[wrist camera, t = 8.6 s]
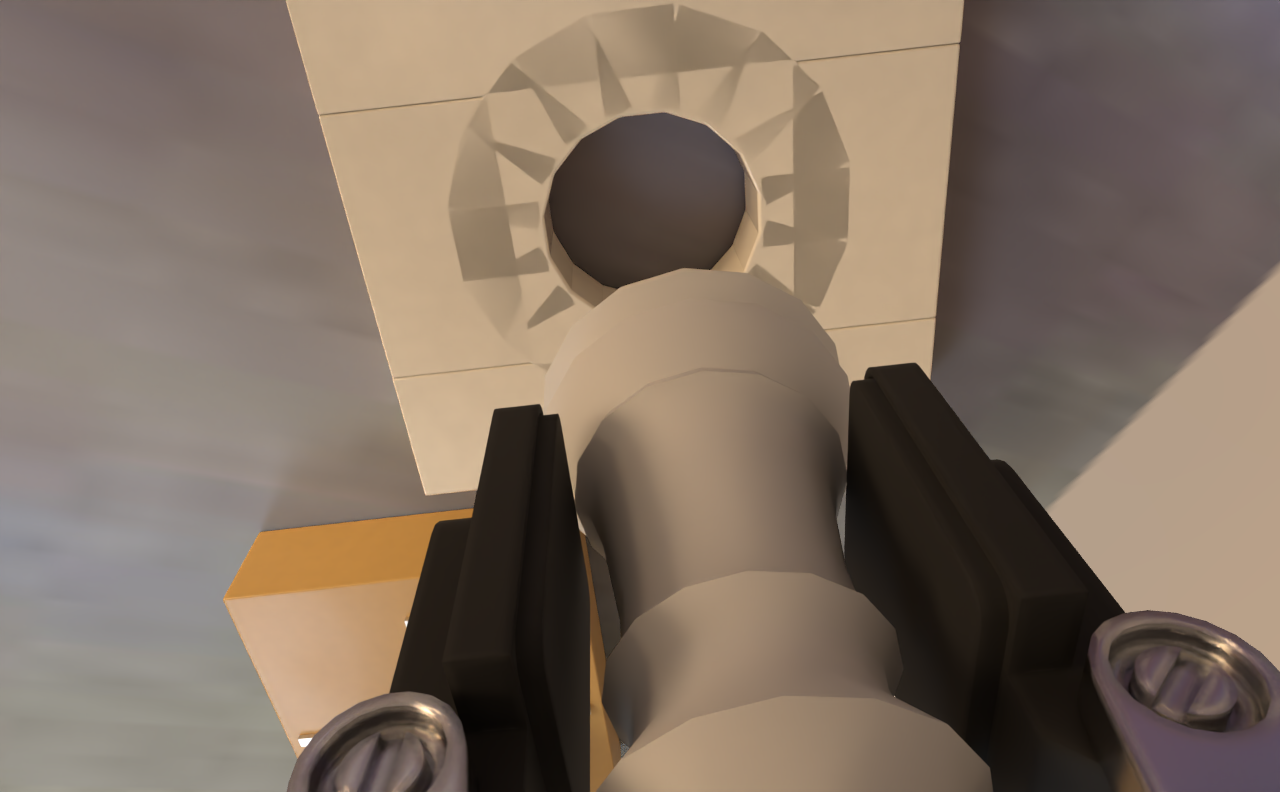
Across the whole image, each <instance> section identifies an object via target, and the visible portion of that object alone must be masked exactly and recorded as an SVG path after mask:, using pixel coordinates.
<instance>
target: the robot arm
mask: <svg viewBox="0 0 1280 792" xmlns="http://www.w3.org/2000/svg"><path fill="white" fill-rule="evenodd" d="M844 554H845V564H846V569H847V571H848V574H849V576H850V579H851V581H852V584H853V586H854V589H855V591H856V592H859V593H861V594H864V596H865V597H866V598H867V599H868V600H869V601H870V602H871V603H872V604H873V605H874V606H875V607H876V608H877V609H878V611H879V612H880V613H881V614H882V615H883V616H884V617H885V618H886V619H887V620H888V621H889V622H890V623H891V624H892V626H893V627H894V628H895V629H896V634H897V639H898V644H899V649H900V654H901V659H902V664H903V669H904V670H903V672H902V675H901V678H900V681H899V683H898V686H897V689H896V692H895V697H896V698H897V699H899V700H901V701H903V702H905V703H907V704H909V705H911V706H913V707H915V708H917V709H919V710H921V711H923V712H925V713H927V714H928V715H930V716H932V717H934V718H936V719H938V720H940V721H942V722H944V723H946V724H948V725H949V726H950V727H951V728H952V729H953V730H954V731H955V732H956V733H957V734H958V735H959V736H960V737H961V738H962V739H963V740H964V741H965V743H966V744H967V745H968V746H969V747H970V748H971V749H972V750H973V751H974V752H975V753H976V754H977V755H978V756H979V757H980V758H981V759H982V760H983V761H984V762H985V763H986V764H987V765H988V766H989V767H990V772H991V779H992V786H993V792H1280V672H1279V671H1278V670H1277V668H1276V667H1275V666H1274V665H1273V664H1272V663H1271V662H1270V661H1269V660H1268V659H1267V658H1266V657H1265V656H1264V655H1263V654H1262V653H1261V652H1260V651H1258V650H1256V649H1255V648H1254V647H1252V646H1251V645H1249V644H1248V643H1247V642H1245V641H1244V640H1242V639H1241V638H1239V637H1238V636H1237V635H1235V634H1232V633H1230V632H1228V631H1226V630H1224V629H1222V628H1219V627H1217V626H1215V625H1213V624H1211V623H1209V622H1207V621H1203V620H1199V619H1196V618H1192V617H1188V616H1185V615H1182V614H1178V613H1171V612H1160V611H1149V610H1147V611H1138V612H1130V613H1125V612H1124V611H1123V609H1122V608H1121V607H1120V605H1119V604H1118V603H1117V602H1116V600H1115V599H1114V598H1113V596H1112V595H1111V594H1110V593H1109V591H1108V590H1107V589H1106V587H1105V586H1104V585H1103V584H1102V582H1101V581H1100V580H1099V579H1098V577H1097V576H1096V575H1095V573H1094V572H1093V571H1092V570H1091V568H1090V567H1089V566H1088V564H1087V563H1086V562H1085V561H1084V559H1083V558H1082V557H1081V555H1080V554H1079V553H1078V552H1077V551H1076V549H1075V548H1074V547H1073V545H1072V544H1071V543H1070V542H1069V540H1068V539H1067V538H1066V536H1065V535H1064V534H1063V533H1062V531H1061V530H1060V529H1059V527H1058V526H1057V525H1056V524H1055V522H1054V521H1053V520H1052V518H1051V517H1050V516H1049V515H1048V513H1047V512H1046V511H1045V509H1044V508H1043V507H1042V506H1041V504H1040V503H1039V502H1038V500H1037V499H1036V498H1035V497H1034V495H1033V494H1032V493H1031V492H1030V490H1029V489H1028V488H1027V486H1026V485H1025V484H1024V483H1023V481H1022V480H1021V479H1020V477H1019V476H1018V475H1017V474H1016V472H1015V471H1014V470H1013V469H1012V468H1011V467H1010V466H1009V465H1008V464H1007V463H1006V462H1005V461H1001V460H990V459H989V458H988V456H987V455H986V454H985V452H984V451H983V450H982V448H981V447H980V446H979V444H978V443H977V442H976V440H975V439H974V438H973V436H972V435H971V434H970V432H969V431H968V430H967V428H966V427H965V426H964V424H963V423H962V422H961V420H960V419H959V418H958V416H957V415H956V414H955V412H954V411H953V410H952V408H951V407H950V406H949V404H948V403H947V402H946V400H945V399H944V398H943V396H942V395H941V394H940V393H939V391H938V390H937V389H936V387H935V386H934V385H933V383H932V382H931V381H930V379H929V378H928V377H927V375H926V374H925V373H924V371H923V370H922V369H921V367H920V366H919V365H918V364H917V363H904V364H895V365H886V366H877V367H869V368H868V369H867V370H866V373H865V376H864V380H856V381H852V383H851V386H850V393H849V423H848V453H847V484H846V515H845V546H844ZM287 792H590V594H589V585H588V578H587V572H586V566H585V560H584V554H583V549H582V543H581V537H580V531H579V525H578V519H577V513H576V508H575V502H574V496H573V490H572V484H571V478H570V473H569V467H568V461H567V455H566V449H565V443H564V437H563V432H562V426H561V421H560V417H559V414H550V415H543V411H542V407H541V405H540V404H534V405H525V406H516V407H507V408H498V409H494V412H493V416H492V421H491V425H490V430H489V435H488V440H487V445H486V450H485V455H484V460H483V465H482V469H481V474H480V479H479V484H478V489H477V494H476V499H475V504H474V509H473V513H472V517H471V518H462V519H453V520H444V521H439V522H437V523H436V524H435V526H434V528H433V531H432V533H431V537H430V541H429V545H428V548H427V552H426V556H425V560H424V564H423V567H422V571H421V575H420V579H419V582H418V586H417V590H416V594H415V597H414V601H413V605H412V609H411V612H410V616H409V620H408V624H407V627H406V631H405V635H404V639H403V642H402V646H401V650H400V654H399V658H398V661H397V665H396V669H395V673H394V676H393V680H392V684H391V688H390V691H389V693H388V694H383V695H380V696H377V697H374V698H371V699H368V700H365V701H362V702H359V703H357V704H356V705H354V706H352V707H351V708H349V709H347V710H346V711H344V712H342V713H340V714H339V715H337V716H335V717H334V718H333V719H332V720H331V721H330V722H329V723H327V724H326V725H325V726H324V727H323V728H322V729H321V730H320V731H319V732H317V733H316V734H315V735H314V736H313V738H312V739H311V740H310V742H309V743H308V745H307V746H306V747H305V749H304V750H303V752H302V753H301V754H300V756H299V757H298V759H297V762H296V764H295V767H294V770H293V772H292V775H291V778H290V780H289V784H288V789H287Z"/></svg>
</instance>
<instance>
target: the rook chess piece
mask: <svg viewBox="0 0 1280 792" xmlns="http://www.w3.org/2000/svg"><path fill="white" fill-rule="evenodd" d="M849 393H850V386H849V381H848V376H847V374H846V373H845V371H844V370H843V369H842V368H841V366H840V365H839V360H838V355H837V350H836V345H835V343H834V342H833V340H832V339H831V338H830V336H829V335H828V334H827V333H826V331H825V330H824V329H823V328H822V326H821V325H820V324H819V322H818V321H817V320H816V319H815V317H814V316H813V315H812V313H811V312H810V311H809V310H808V308H807V307H806V306H805V305H804V303H803V302H802V301H801V300H800V299H798V298H796V297H794V296H792V295H790V294H788V293H786V292H784V291H782V290H780V289H778V288H776V287H774V286H772V285H770V284H768V283H766V282H764V281H762V280H760V279H758V278H756V277H754V276H752V275H750V274H748V273H741V272H728V271H715V270H702V269H689V268H682V269H678V270H675V271H672V272H668V273H665V274H662V275H659V276H655V277H652V278H649V279H645V280H642V281H639V282H635V283H632V284H629V285H626V286H622V287H620V288H619V289H617V290H616V291H615V292H614V293H612V294H611V295H610V296H609V297H607V298H606V299H605V300H604V301H602V302H601V303H600V304H599V305H597V306H596V307H595V308H594V309H592V310H591V311H590V312H588V313H587V314H586V315H585V316H583V317H582V318H581V319H580V320H578V321H577V322H576V323H575V324H573V325H572V326H571V328H570V330H569V332H568V334H567V336H566V338H565V339H564V341H563V343H562V345H561V347H560V349H559V351H558V352H557V354H556V356H555V358H554V360H553V362H552V364H551V366H550V367H549V369H548V371H547V373H546V375H545V386H544V406H543V415H550V414H559V417H560V421H561V426H562V432H563V437H564V443H565V449H566V455H567V461H568V467H569V473H570V478H571V484H572V490H573V496H574V502H575V508H576V513H577V519H578V525H579V530H580V531H581V532H582V533H584V534H585V535H586V536H587V538H588V540H589V542H590V545H591V547H592V548H594V549H595V550H596V551H597V552H598V553H599V554H600V555H601V556H603V557H604V558H605V559H606V561H607V565H608V569H609V574H610V578H611V582H612V587H613V591H614V596H615V600H616V604H617V609H618V613H619V617H620V629H621V640H620V641H619V643H618V644H617V646H616V647H615V648H614V650H613V651H612V653H611V654H610V655H609V657H608V658H607V660H606V667H605V676H604V685H603V694H602V704H603V706H604V708H605V711H606V713H607V715H608V717H609V719H610V721H611V723H612V725H613V727H614V729H615V731H616V733H617V735H618V737H619V739H620V740H621V741H622V742H623V743H625V744H626V745H627V746H628V747H630V749H629V750H628V751H627V752H626V754H625V755H624V756H623V757H622V758H621V760H620V761H619V762H618V764H617V765H616V766H615V767H614V769H613V770H612V771H611V773H610V774H609V775H608V776H607V778H606V779H605V780H604V782H603V783H602V784H601V785H600V787H599V788H598V789H597V791H596V792H993V786H992V779H991V772H990V767H989V766H988V765H987V764H986V763H985V762H984V761H983V760H982V759H981V758H980V757H979V756H978V755H977V754H976V753H975V752H974V751H973V750H972V749H971V748H970V747H969V746H968V745H967V744H966V743H965V741H964V740H963V739H962V738H961V737H960V736H959V735H958V734H957V733H956V732H955V731H954V730H953V729H952V728H951V727H950V726H949V725H948V724H946V723H944V722H942V721H940V720H938V719H936V718H934V717H932V716H930V715H928V714H927V713H925V712H923V711H921V710H919V709H917V708H915V707H913V706H911V705H909V704H907V703H905V702H903V701H901V700H899V699H897V698H895V697H894V695H895V692H896V689H897V686H898V683H899V681H900V678H901V675H902V672H903V670H904V669H903V664H902V659H901V654H900V649H899V644H898V639H897V634H896V629H895V628H894V627H893V626H892V624H891V623H890V622H889V621H888V620H887V619H886V618H885V617H884V616H883V615H882V614H881V613H880V612H879V611H878V609H877V608H876V607H875V606H874V605H873V604H872V603H871V602H870V601H869V600H868V599H867V598H866V597H865V596H864V594H861V593H859V592H856V591H855V589H854V586H853V584H852V581H851V579H850V576H849V574H848V571H847V569H846V565H845V560H844V555H843V550H842V545H841V540H840V534H839V529H838V524H837V516H838V512H839V509H840V505H841V501H842V497H843V494H844V492H845V489H846V484H847V453H848V423H849Z"/></svg>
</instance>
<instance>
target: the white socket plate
mask: <svg viewBox="0 0 1280 792" xmlns="http://www.w3.org/2000/svg"><path fill="white" fill-rule="evenodd" d="M286 4H287V7H288V11H289V14H290V18H291V21H292V25H293V29H294V32H295V36H296V39H297V43H298V46H299V50H300V53H301V57H302V60H303V64H304V68H305V71H306V75H307V78H308V82H309V85H310V89H311V92H312V96H313V99H314V103H315V106H316V110H317V113H318V114H319V115H320V116H319V120H320V124H321V127H322V131H323V134H324V138H325V141H326V145H327V148H328V152H329V156H330V159H331V163H332V166H333V170H334V173H335V177H336V180H337V184H338V187H339V191H340V194H341V198H342V202H343V205H344V209H345V212H346V216H347V219H348V223H349V226H350V230H351V233H352V237H353V241H354V244H355V248H356V251H357V255H358V258H359V262H360V265H361V269H362V272H363V276H364V280H365V283H366V287H367V290H368V294H369V297H370V301H371V304H372V308H373V311H374V315H375V318H376V322H377V326H378V329H379V333H380V336H381V340H382V343H383V347H384V350H385V354H386V357H387V361H388V365H389V368H390V372H391V375H392V377H393V382H394V386H395V390H396V393H397V397H398V400H399V404H400V407H401V411H402V414H403V418H404V421H405V425H406V428H407V432H408V436H409V439H410V443H411V446H412V450H413V453H414V457H415V460H416V464H417V467H418V471H419V475H420V478H421V482H422V485H423V489H424V492H425V495H427V496H428V495H437V494H446V493H455V492H464V491H472V490H477V489H478V484H479V479H480V474H481V469H482V465H483V460H484V455H485V450H486V445H487V440H488V435H489V430H490V425H491V421H492V416H493V412H494V409H498V408H507V407H516V406H525V405H534V404H540V405H541V407H542V411H543V406H544V386H545V375H546V373H547V371H548V369H549V367H550V366H551V364H552V362H553V360H554V358H555V356H556V354H557V352H558V351H559V349H560V347H561V345H562V343H563V341H564V339H565V338H566V336H567V334H568V332H569V330H570V328H571V326H572V325H573V324H575V323H576V322H577V321H578V320H580V319H581V318H582V317H583V316H585V315H586V314H587V313H588V312H590V311H591V310H592V309H594V308H595V307H596V306H597V305H599V304H600V303H601V302H602V301H604V300H605V299H606V298H607V297H609V296H610V295H611V294H612V293H614V292H615V291H616V290H617V289H615V288H612V287H608V286H604V285H602V284H600V283H599V282H598V281H596V280H595V279H593V278H592V277H591V276H589V275H588V274H587V273H585V272H584V271H583V270H581V269H580V268H579V267H577V266H576V265H574V264H573V263H572V261H571V259H570V258H569V256H568V254H567V253H566V251H565V250H564V248H563V246H562V245H561V243H560V241H559V240H558V238H557V237H556V235H555V233H554V232H553V225H552V219H551V212H550V206H549V199H548V198H549V194H550V190H551V186H552V182H553V178H554V174H555V173H556V172H557V170H558V169H559V168H560V166H561V165H562V164H563V163H564V161H565V160H566V159H567V157H568V156H569V155H570V153H571V152H572V151H573V149H574V148H575V147H576V145H577V144H578V143H579V142H580V140H581V139H583V138H585V137H586V136H588V135H590V134H592V133H593V132H595V131H597V130H599V129H600V128H602V127H604V126H606V125H607V124H609V123H611V122H613V121H614V120H616V119H618V118H620V117H628V116H637V115H646V114H654V113H663V112H665V113H668V114H671V115H675V116H678V117H681V118H684V119H688V120H691V121H694V122H697V123H701V124H704V125H707V126H708V127H709V128H710V129H711V130H712V131H714V132H715V133H716V134H717V135H718V136H719V137H721V138H722V139H723V140H724V141H725V142H726V143H727V144H729V145H730V146H731V147H732V148H733V149H734V151H735V153H736V155H737V157H738V160H739V162H740V164H741V166H742V168H743V170H744V179H745V208H746V210H745V212H744V215H743V218H742V220H741V223H740V226H739V229H738V231H737V234H736V237H735V239H734V242H733V245H732V247H731V248H730V249H729V250H728V251H727V252H726V253H725V254H724V256H723V257H722V258H721V259H720V260H719V261H718V262H717V263H716V264H715V266H714V267H713V268H712V269H711V270H715V271H728V272H741V273H748V274H750V275H752V276H754V277H756V278H758V279H760V280H762V281H764V282H766V283H768V284H770V285H772V286H774V287H776V288H778V289H780V290H782V291H784V292H786V293H788V294H790V295H792V296H794V297H796V298H798V299H800V300H801V301H802V302H803V303H804V305H805V306H806V307H807V308H808V310H809V311H810V312H811V313H812V315H813V316H814V317H815V319H816V320H817V321H818V322H819V324H820V325H821V326H822V328H823V329H824V330H825V331H826V333H827V334H828V335H829V336H830V338H831V339H832V340H833V342H834V343H835V345H836V350H837V355H838V360H839V365H840V366H841V368H842V369H843V370H844V371H845V373H846V374H847V376H848V381H849V386H851V383H852V381H856V380H864V376H865V373H866V370H867V369H868V368H869V367H877V366H886V365H895V364H904V363H917V364H918V365H919V366H920V367H921V369H922V370H923V371H924V373H925V374H926V375H927V377H928V378H929V379H930V380H931V369H932V358H933V346H934V335H935V324H936V318H935V316H936V310H937V299H938V288H939V276H940V265H941V254H942V242H943V231H944V220H945V208H946V197H947V186H948V174H949V163H950V152H951V140H952V129H953V118H954V107H955V95H956V84H957V73H958V61H959V50H960V45H959V44H958V43H959V42H960V41H961V31H962V20H963V9H964V0H286Z"/></svg>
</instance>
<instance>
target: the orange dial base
mask: <svg viewBox="0 0 1280 792" xmlns="http://www.w3.org/2000/svg"><path fill="white" fill-rule="evenodd" d="M473 509H474V508H470V509H461V510H453V511H444V512H435V513H426V514H417V515H408V516H399V517H390V518H381V519H372V520H363V521H354V522H345V523H336V524H327V525H318V526H309V527H300V528H291V529H282V530H273V531H264V532H260V533H259V534H258V536H257V538H256V540H255V542H254V544H253V545H252V547H251V549H250V551H249V553H248V554H247V556H246V558H245V560H244V562H243V564H242V565H241V567H240V569H239V571H238V573H237V575H236V576H235V578H234V580H233V582H232V584H231V585H230V587H229V589H228V591H227V593H226V595H225V596H224V598H223V601H224V603H225V605H226V607H227V609H228V611H229V613H230V616H231V618H232V620H233V622H234V624H235V626H236V628H237V630H238V633H239V635H240V637H241V639H242V641H243V643H244V645H245V647H246V650H247V652H248V654H249V656H250V658H251V660H252V662H253V664H254V667H255V669H256V671H257V673H258V675H259V677H260V679H261V681H262V684H263V686H264V688H265V690H266V692H267V694H268V696H269V698H270V701H271V703H272V705H273V707H274V709H275V711H276V713H277V715H278V718H279V720H280V722H281V724H282V726H283V728H284V730H285V732H286V735H287V737H288V739H289V741H290V743H291V745H292V747H293V749H294V752H295V754H296V756H297V758H298V757H299V756H300V754H301V753H302V752H303V750H304V749H305V747H306V746H307V745H308V743H309V742H310V740H311V739H312V738H313V736H314V735H315V734H316V733H317V732H319V731H320V730H321V729H322V728H323V727H324V726H325V725H326V724H327V723H329V722H330V721H331V720H332V719H333V718H334V717H335V716H337V715H339V714H340V713H342V712H344V711H346V710H347V709H349V708H351V707H352V706H354V705H356V704H357V703H359V702H362V701H365V700H368V699H371V698H374V697H377V696H380V695H383V694H388V693H389V691H390V688H391V684H392V680H393V676H394V673H395V669H396V665H397V661H398V658H399V654H400V650H401V646H402V642H403V639H404V635H405V631H406V627H407V624H408V620H409V616H410V612H411V609H412V605H413V601H414V597H415V594H416V590H417V586H418V582H419V579H420V575H421V571H422V567H423V564H424V560H425V556H426V552H427V548H428V545H429V541H430V537H431V533H432V531H433V528H434V526H435V524H436V523H437V522H439V521H444V520H453V519H462V518H471V517H472V513H473ZM579 531H580V530H579ZM580 537H581V543H582V549H583V554H584V560H585V566H586V572H587V578H588V585H589V594H590V792H596V791H597V789H598V788H599V787H600V785H601V784H602V783H603V782H604V780H605V779H606V778H607V776H608V775H609V774H610V773H611V771H612V770H613V769H614V767H615V766H616V765H617V764H618V762H619V761H620V760H621V747H620V741H619V737H618V735H617V733H616V731H615V729H614V727H613V725H612V723H611V721H610V719H609V717H608V715H607V713H606V711H605V708H604V706H603V704H602V694H603V685H604V676H605V667H606V658H605V652H604V646H603V640H602V634H601V628H600V622H599V616H598V610H597V604H596V598H595V592H594V586H593V580H592V574H591V568H590V562H589V556H588V550H587V544H586V538H585V534H584V533H582V532H581V531H580Z"/></svg>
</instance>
